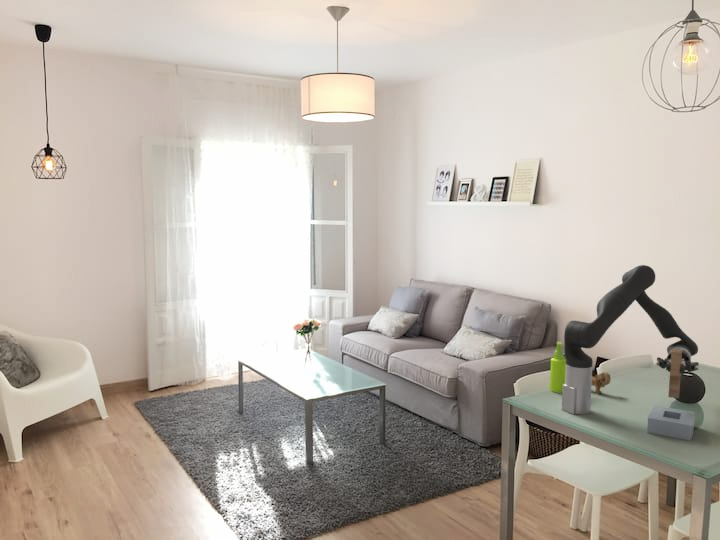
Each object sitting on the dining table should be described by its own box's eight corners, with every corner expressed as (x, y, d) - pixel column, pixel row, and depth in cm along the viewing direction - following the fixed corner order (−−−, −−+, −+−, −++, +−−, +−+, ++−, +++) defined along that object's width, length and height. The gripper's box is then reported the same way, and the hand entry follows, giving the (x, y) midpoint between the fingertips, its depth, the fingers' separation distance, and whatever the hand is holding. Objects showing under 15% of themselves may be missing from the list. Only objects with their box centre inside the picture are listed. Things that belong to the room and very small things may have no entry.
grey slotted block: (691, 440, 195) (692, 425, 195) (647, 432, 202) (648, 418, 201) (694, 426, 208) (695, 412, 207) (652, 419, 215) (653, 405, 214)
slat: (678, 398, 207) (681, 352, 205) (668, 397, 208) (671, 351, 206) (679, 394, 211) (682, 349, 209) (669, 393, 212) (672, 348, 211)
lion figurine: (612, 393, 243) (613, 372, 242) (607, 396, 239) (608, 374, 238) (576, 386, 253) (577, 365, 252) (571, 389, 249) (572, 367, 248)
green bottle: (564, 388, 250) (566, 341, 247) (564, 393, 243) (566, 344, 241) (550, 387, 251) (551, 340, 249) (549, 392, 245) (551, 343, 243)
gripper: (658, 346, 224) (653, 356, 209) (701, 351, 216) (699, 361, 202) (657, 366, 224) (651, 377, 210) (700, 371, 217) (697, 383, 203)
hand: (675, 369), depth 206 cm, fingers closed on slat, 3 cm apart
